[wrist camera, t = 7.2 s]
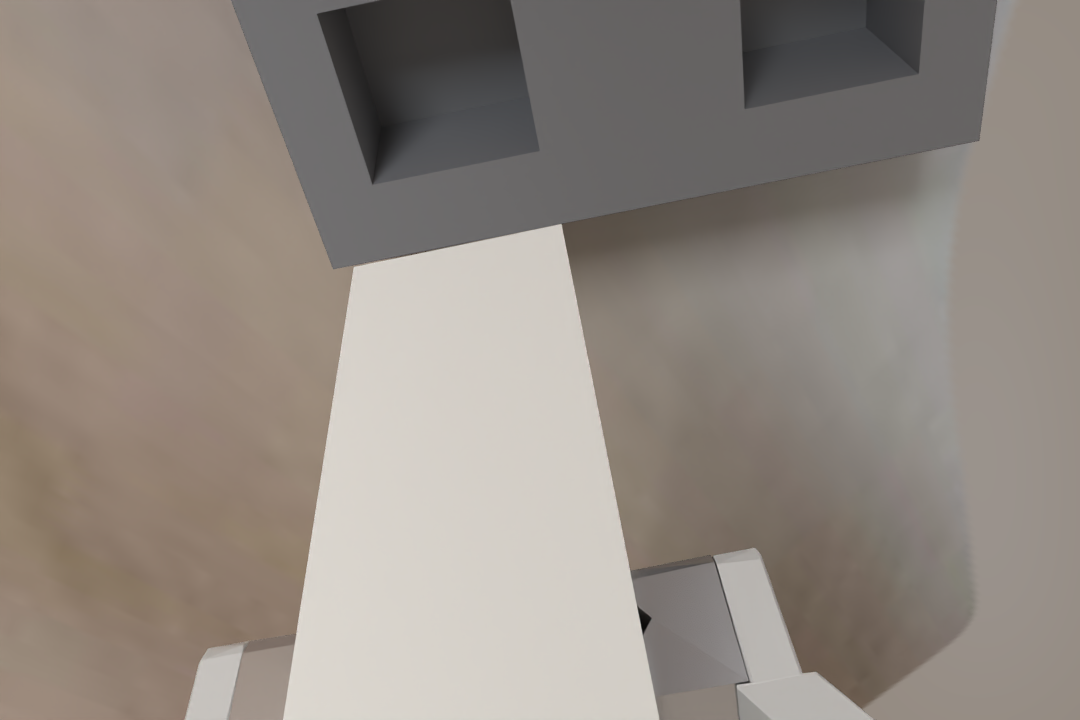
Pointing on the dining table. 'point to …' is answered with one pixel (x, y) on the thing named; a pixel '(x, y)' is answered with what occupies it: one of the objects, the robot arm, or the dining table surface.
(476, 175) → the socket block
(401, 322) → the plug
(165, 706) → the dining table surface
